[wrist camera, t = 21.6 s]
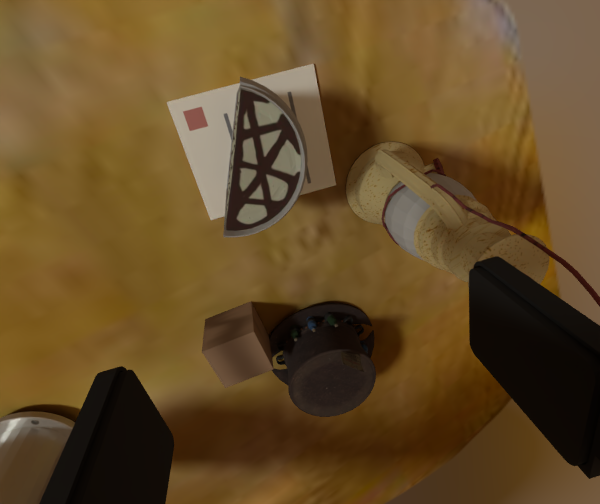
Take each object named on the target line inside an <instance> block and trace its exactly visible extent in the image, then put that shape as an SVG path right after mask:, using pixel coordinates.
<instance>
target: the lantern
mask: <svg viewBox="0 0 600 504" xmlns="http://www.w3.org/2000/svg"><path fill="white" fill-rule="evenodd" d="M433 162H434V163H432V164H429V165H427V166H424V163H423V161H422V159H421V157H420V156H419V154H418V153H417V152H416V151H415V150H414V149H413V148H411V147H410V146H408V145H406V144H403V143H400V142H384V143H380V144H377V145H375V146H373V147H371V148H369V149H368V150H366V151H365V152H364V153H363V154H361V155H360V156H359V158H358V159H357V160H356V161H355V163H354V164H353V166H352V167H351V169H350V171H349V174H348V176H347V182H346V196H347V199H348V202H349V205H350V207H351V208H352V210H353V211H354V212H355V213H356V214H357V215H358V216H359V217H360V218H362V219H364V220H366V221H368V222H372V223H378V224H381V225H383V226H384V227H385V229H386V230H387V232H388V234H389V236H390V237H391V238H392V240H393V241H394V242H395V243H396V244H398V245H400V246H401V247H402V249H404V250H406V251H407V252H409V253H410V254H412V255H413V256H415V257H418V258H420V259H422V260H424V261H426V262H428V263H430V264H431V265H432V266H434V267H437V268H439V269H442V270H446V271H448V272H450V273H452V274H454V275H455V276H456V277H457V278H459V279H461V280H463V281H465V282H468V286H469V271H470V270H471V269H473V268H474V264H475V263H476V262H478V261H481V260H485V259H488V258H492V257H495V256H498V257H500V258H502V259H504V260H505V261H507V262H508V263H509V264H511V265H512V266H514V267H515V268H517V269H518V270H520V271H521V272H522V273H524V274H525V275H527V276H528V277H530V278H531V279H533V280H534V281H535V282H537V283H538V284H540V283H541V282H542V280H543V278H544V276H545V274H546V272H547V270H548V265H549V256H550V257H552V258H553V259H555V260H556V261H558V262H559V263H561V264H562V265H563V266H564V267H565V268H566V269H568V270H569V271H570V272H571V273H572V274H573V275H574V276H575V277H576V278H577V279H578V281H579V282H580V283H581V284H582V285H583V286H584V287H585V289H586V290H587V291H588V292H589V293H590V295H591V296H592V297H593V298H594V300H595V301H596V302H597V304H598V305H599V306H600V297H599V296H598V295H597V293H596V292H595V291H594V289H593V288H592V287H591V286H590V285H589V284H588V283H587V282H586V281H585V279H584V278H583V277H582V276H581V275H580V274H579V273H578V272H577V271H576V270H575V269H574V268H573V267H572V266H571V265H570V264H568V263H567V262H566V261H565V260H564V259H562V258H561V257H559V256H558V255H556V254H555V253H553V252H552V251H550V250H549V249H547V247H546V245H545V244H544V243H543V241H541V240H540V239H539V238H537V237H535V236H532V235H526V234H524V233H523V232H521V231H520V230H518V229H516V228H515V227H513V226H510V225H507V224H504V223H502V222H498V221H496V219H495V218H494V217H492V214H491V213H490V211H489V210H488V208H487V207H486V206H484V205H482V204H481V203H479V202H478V201H477V200H476V199H475V197H474V196H473V194H472V193H471V192H470V191H469V190H467V189H466V188H465V187H464V186H463V185H462V184H460V183H459V182H457V181H455V180H454V179H452V178H450V177H447V176H446V175H445V174H444V171H443V167H442V165H441V163H440V161H439V159H438V158H437V159H434V160H433ZM507 229H508V230H511V231H513V232H514V233H516V235H511V234H510V233H509V231H508V230H507Z"/></svg>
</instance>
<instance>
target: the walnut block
mask: <svg viewBox="0 0 600 504" xmlns="http://www.w3.org/2000/svg"><path fill="white" fill-rule="evenodd" d="M202 353H203V354H204V356H205V357H206V359H207V360H208V362H209V363H210V365H211V367H212V368H213V370H214V371H215V373H216V374H217V376H218V377H219V379H220V381H221V382H222V384H223V385H224V387H225V388H226V387H229V386H231V385H234V384H237V383H239V382H242V381H244V380H247V379H249V378H252V377H255V376H257V375H260V374H262V373H265V372H268V371H270V370H273V361H272V354H271V347H270V340H269V336H268V334H267V332H266V330H265V328H264V326H263V324H262V322H261V320H260V318H259V316H258V314H257V312H256V310H255V308H254V306H253V304H252V302H249V303H246V304H243V305H241V306H238V307H236V308H233V309H231V310H228V311H225V312H223V313H220V314H218V315H215V316H213V317H210V318H208V319H205V328H204V337H203V347H202Z"/></svg>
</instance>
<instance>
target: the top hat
mask: <svg viewBox="0 0 600 504" xmlns="http://www.w3.org/2000/svg"><path fill="white" fill-rule="evenodd" d="M352 324H366V325H369V326H372V324H371V322H370V320H369V319H368V317H367V316H366V315H365V314H364V313H363V312H362V311H360V310H359V309H358V308H355V307H353V306H350V305H346V304H340V303H328V304H321V305H316V306H312V307H309V308H306V309H303V310H301V311H299V312H297V313H295V314H293V315H292V316H290V317H288V318H287V319H285V320H284V321H283V322H282V323H280V324H279V325H278V326H277V327H276V329H275V330H274V331H273V332H272V334H271V336H270V338H269V340H270V347H271V354H272V357H273V356H274V355H276V354H277V353H279V352H280V351H281V350H282V351H283V355H282V356H278V357H277V358H276V360H277V363H278V364H280V365H283V364H285V365H286V366H287V369H282V370H278V369H273V370H272V371H273V373H274V374H275V375H276V376H277V377H278V378H279V379H280V380H281V381H282V382H284V383H285V384H287V385H288V386H289V395H290V398H291V400H292V401H293V403H294V404H295V405H296V406H297V407H298V408H299V409H301V410H302V411H304V412H306V413H308V414H311V415H315V416H320V417H330V416H337V415H340V414H343V413H346V412H348V411H350V410H352V409H354V408H356V407H357V406H359V405H360V404H361V403H362V402H363V401H364V400H365V399H366V398H367V397H368V396H369V394H370V393H371V391H372V389H373V387H374V383H375V379H376V371H375V367H374V364H373V362H372V361H371V359H370V357H371V355H372V351H373V347H374V331H372V332H371V333H370V335H369V336H368V337H367V338H366V339H365V340H363V341H360V339H359V335H360V334H362V333H363V331H364V329H363V327H362V325H357V326H355V327H354V326H353V325H352ZM358 328H362V329H361V331H359V332H356V330H355V329H358ZM283 358H284V361H280V362H279V361H278V360H279V359H283Z"/></svg>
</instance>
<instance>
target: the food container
mask: <svg viewBox="0 0 600 504" xmlns="http://www.w3.org/2000/svg"><path fill="white" fill-rule="evenodd" d="M307 162H308V158H307V146H306V141H305V136H304V134H303V131H302V128H301V125H300V124H299V122H298V120H297V118H296V116H295V114H294V113H293V112H292V110H291V109H290V108H289V106H288V105H287V104H286V103H285V102H284V101H283V100H282V99H281V98H280V97H279V96H278V95H277V94H275V93H274V92H273V91H271V90H270V89H268V88H267V87H265V86H263V85H261V84H259V83H257V82H255V81H253V80H249V79H246V78H242V77H240V86H239V89H238V91H237V94H236V104H235V113H234V122H233V132H232V141H231V151H230V160H229V170H228V179H227V189H226V205H225V222H224V237H241V236H247V235H251V234H255V233H258V232H260V231H262V230H265V229H267V228H269V227H270V226H272V225H274V224H275V223H277V222H278V221H279V220H280V219H282V218H283V217H284V216H285V215H286V214H287V213H288V212H289V210H290V209H291V208H292V207H293V205H294V204H295V202H296V201H297V199H298V197H299V195H300V193H301V191H302V188H303V185H304V182H305V178H306V171H307Z"/></svg>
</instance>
